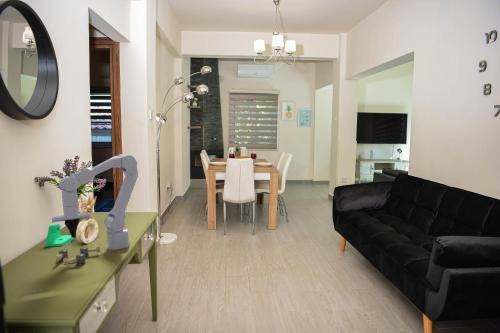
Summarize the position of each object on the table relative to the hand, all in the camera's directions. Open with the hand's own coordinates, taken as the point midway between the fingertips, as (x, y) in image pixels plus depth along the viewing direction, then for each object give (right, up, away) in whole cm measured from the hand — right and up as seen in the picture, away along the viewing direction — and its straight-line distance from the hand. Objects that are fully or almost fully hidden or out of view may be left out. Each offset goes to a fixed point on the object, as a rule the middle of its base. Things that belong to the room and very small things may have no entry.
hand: (73, 236), depth 143 cm
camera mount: (-17, -9, +21) cm, 29 cm away
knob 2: (+4, -10, -7) cm, 13 cm away
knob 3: (+6, -9, +3) cm, 11 cm away
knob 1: (-4, -10, -3) cm, 11 cm away
